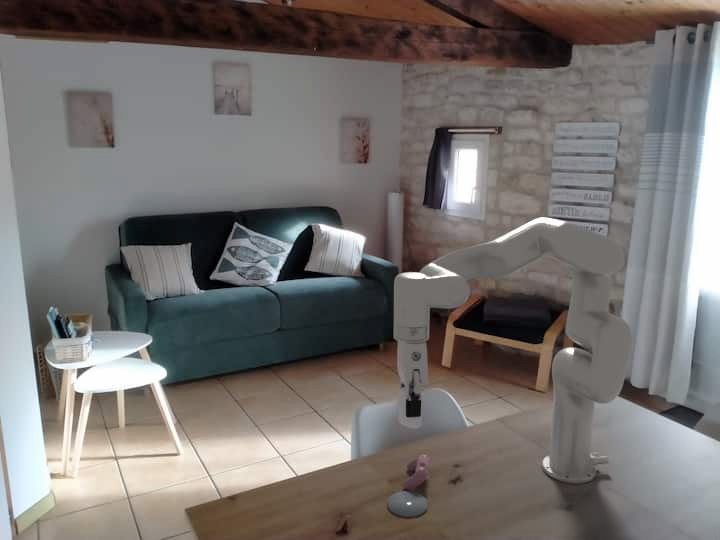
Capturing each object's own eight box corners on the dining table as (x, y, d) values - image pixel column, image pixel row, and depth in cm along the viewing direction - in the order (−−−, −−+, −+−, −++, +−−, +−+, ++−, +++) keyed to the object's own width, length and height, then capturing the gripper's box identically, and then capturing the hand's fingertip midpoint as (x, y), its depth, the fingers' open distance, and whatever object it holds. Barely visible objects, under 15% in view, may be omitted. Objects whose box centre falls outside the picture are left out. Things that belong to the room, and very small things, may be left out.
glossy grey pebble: (422, 492, 142) (422, 489, 142) (431, 515, 133) (431, 512, 133) (384, 495, 141) (384, 492, 141) (391, 518, 132) (391, 516, 132)
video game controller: (417, 497, 143) (432, 475, 141) (400, 488, 143) (414, 465, 141) (421, 475, 152) (435, 453, 150) (405, 466, 152) (418, 444, 150)
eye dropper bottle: (415, 417, 136) (416, 367, 133) (423, 428, 131) (424, 376, 128) (396, 419, 135) (397, 369, 132) (404, 431, 130) (404, 378, 127)
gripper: (439, 343, 121) (437, 427, 124) (419, 318, 137) (417, 393, 141) (402, 345, 120) (401, 429, 123) (386, 319, 136) (386, 395, 140)
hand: (410, 409), depth 132 cm, fingers closed on eye dropper bottle, 5 cm apart
